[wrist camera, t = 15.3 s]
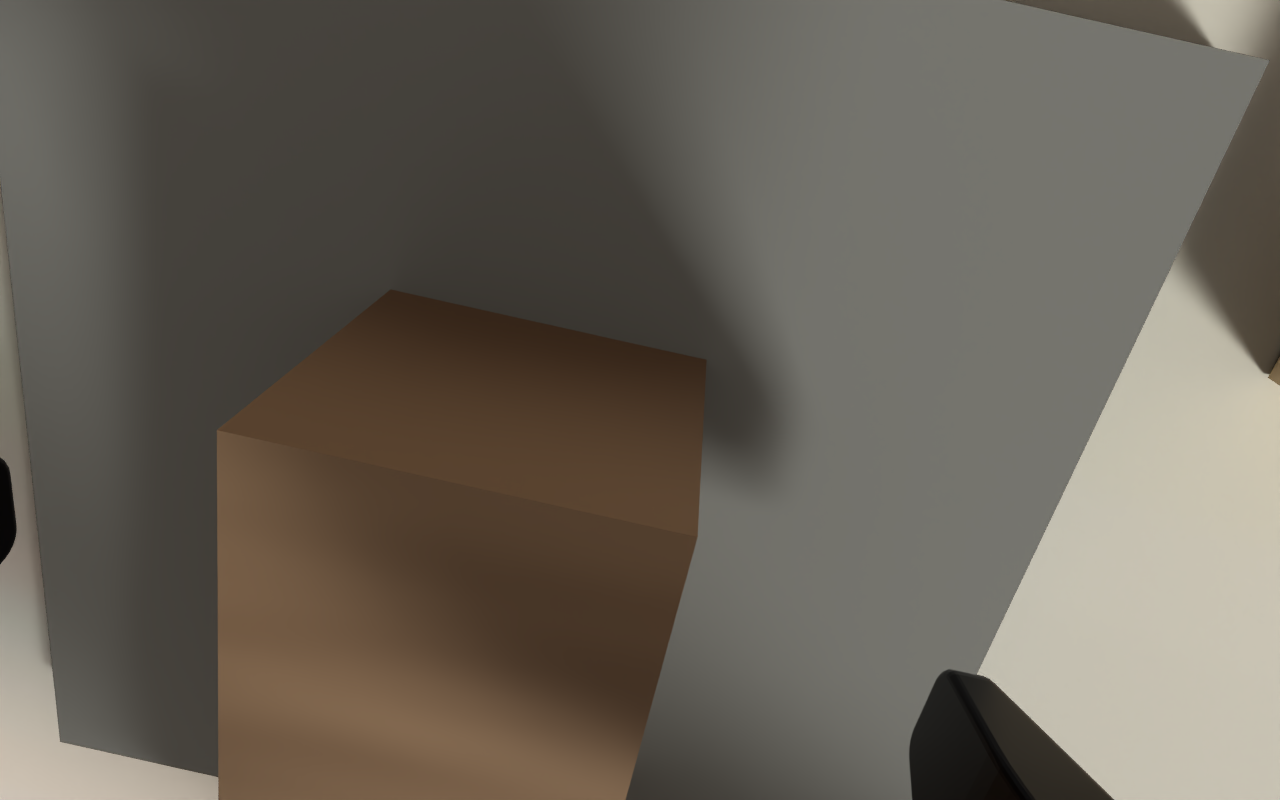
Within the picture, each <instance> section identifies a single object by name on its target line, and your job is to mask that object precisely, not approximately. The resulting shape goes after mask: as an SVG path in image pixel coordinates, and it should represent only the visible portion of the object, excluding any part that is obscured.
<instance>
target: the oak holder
mask: <svg viewBox="0 0 1280 800" xmlns="http://www.w3.org/2000/svg"><path fill="white" fill-rule="evenodd" d="M1268 378H1269V379H1271V380H1272V381H1274V382H1275V383H1277V384H1278V385H1280V357H1279V359H1278V361H1277V363H1276V364H1275V366H1274V368H1273V370H1272V372H1271V373H1270V375H1269V377H1268Z"/></svg>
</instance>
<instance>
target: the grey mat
mask: <svg viewBox="0 0 1280 800" xmlns="http://www.w3.org/2000/svg"><path fill="white" fill-rule="evenodd" d="M1269 61H1270V60H1266V59H1262V58H1258V57H1253V56H1249V55H1244V54H1240V53H1235V52H1231V51H1226V50H1222V49H1218V48H1213V47H1209V46H1204V45H1200V44H1195V43H1191V42H1187V41H1182V40H1178V39H1173V38H1169V37H1164V36H1160V35H1156V34H1151V33H1147V32H1142V31H1138V30H1133V29H1129V28H1124V27H1120V26H1116V25H1111V24H1107V23H1102V22H1098V21H1093V20H1089V19H1085V18H1080V17H1076V16H1071V15H1067V14H1062V13H1058V12H1054V11H1049V10H1045V9H1040V8H1036V7H1031V6H1027V5H1023V4H1018V3H1014V2H1009V1H1005V0H0V182H1V191H2V200H3V210H4V219H5V228H6V238H7V247H8V257H9V266H10V275H11V285H12V294H13V303H14V313H15V322H16V332H17V341H18V350H19V360H20V369H21V378H22V388H23V397H24V406H25V416H26V425H27V435H28V444H29V453H30V463H31V472H32V481H33V491H34V500H35V509H36V519H37V528H38V538H39V547H40V556H41V566H42V575H43V584H44V594H45V603H46V613H47V622H48V631H49V641H50V650H51V659H52V669H53V678H54V687H55V697H56V706H57V716H58V725H59V734H60V742H64V743H68V744H73V745H77V746H82V747H86V748H91V749H95V750H100V751H104V752H109V753H113V754H118V755H122V756H127V757H131V758H135V759H140V760H144V761H149V762H153V763H158V764H162V765H167V766H171V767H176V768H180V769H185V770H189V771H194V772H198V773H203V774H207V775H212V776H216V777H218V566H217V430H218V429H219V428H220V427H221V426H223V425H224V424H225V423H226V422H227V421H229V420H230V419H231V418H232V417H234V416H235V415H236V414H237V413H239V412H240V411H241V410H242V409H244V408H245V407H246V406H247V405H248V404H250V403H251V402H252V401H253V400H255V399H256V398H257V397H258V396H260V395H261V394H262V393H263V392H265V391H266V390H267V389H268V388H269V387H271V386H272V385H273V384H274V383H276V382H277V381H278V380H279V379H281V378H282V377H283V376H284V375H285V374H287V373H288V372H289V371H290V370H292V369H293V368H294V367H295V366H297V365H298V364H299V363H300V362H302V361H303V360H304V359H305V358H306V357H308V356H309V355H310V354H311V353H313V352H314V351H315V350H316V349H318V348H319V347H320V346H321V345H323V344H324V343H325V342H326V341H327V340H329V339H330V338H331V337H332V336H334V335H335V334H336V333H337V332H339V331H340V330H341V329H342V328H343V327H345V326H346V325H347V324H348V323H350V322H351V321H352V320H353V319H355V318H356V317H357V316H358V315H360V314H361V313H362V312H363V311H364V310H366V309H367V308H368V307H369V306H371V305H372V304H373V303H374V302H376V301H377V300H378V299H379V298H381V297H382V296H383V295H384V294H385V293H387V292H388V291H389V290H390V289H391V290H396V291H400V292H404V293H409V294H413V295H418V296H422V297H427V298H431V299H436V300H440V301H445V302H449V303H454V304H458V305H463V306H467V307H472V308H476V309H481V310H485V311H490V312H494V313H499V314H503V315H508V316H512V317H517V318H521V319H526V320H530V321H535V322H539V323H544V324H548V325H553V326H557V327H562V328H566V329H571V330H575V331H580V332H584V333H589V334H593V335H597V336H602V337H606V338H611V339H615V340H620V341H624V342H629V343H633V344H638V345H642V346H647V347H651V348H656V349H660V350H665V351H669V352H674V353H678V354H683V355H687V356H692V357H696V358H701V359H705V360H707V361H706V381H705V401H704V421H703V441H702V461H701V480H700V500H699V520H698V538H697V541H696V545H695V549H694V552H693V556H692V559H691V563H690V567H689V570H688V574H687V578H686V581H685V585H684V589H683V592H682V596H681V600H680V603H679V607H678V610H677V614H676V618H675V621H674V625H673V629H672V632H671V636H670V640H669V643H668V647H667V650H666V654H665V658H664V661H663V665H662V669H661V672H660V676H659V680H658V683H657V687H656V691H655V694H654V698H653V701H652V705H651V709H650V712H649V716H648V720H647V723H646V727H645V731H644V734H643V738H642V742H641V745H640V749H639V752H638V756H637V760H636V763H635V767H634V771H633V774H632V778H631V782H630V785H629V789H628V793H627V796H626V800H912V792H911V779H910V765H909V746H910V739H911V736H912V732H913V729H914V727H915V725H916V723H917V720H918V718H919V716H920V714H921V712H922V709H923V707H924V705H925V703H926V700H927V698H928V696H929V694H930V692H931V689H932V687H933V685H934V683H935V681H936V679H937V677H938V676H939V675H940V674H941V673H942V672H943V671H945V670H948V669H953V670H957V671H962V672H966V673H971V674H975V675H977V673H978V670H979V668H980V666H981V664H982V662H983V660H984V658H985V656H986V654H987V652H988V650H989V647H990V645H991V643H992V641H993V639H994V637H995V635H996V633H997V631H998V629H999V626H1000V624H1001V622H1002V620H1003V618H1004V616H1005V614H1006V612H1007V610H1008V608H1009V606H1010V603H1011V601H1012V599H1013V597H1014V595H1015V593H1016V591H1017V589H1018V587H1019V585H1020V583H1021V580H1022V578H1023V576H1024V574H1025V572H1026V570H1027V568H1028V566H1029V564H1030V562H1031V559H1032V557H1033V555H1034V553H1035V551H1036V549H1037V547H1038V545H1039V543H1040V541H1041V539H1042V536H1043V534H1044V532H1045V530H1046V528H1047V526H1048V524H1049V522H1050V520H1051V518H1052V515H1053V513H1054V511H1055V509H1056V507H1057V505H1058V503H1059V501H1060V499H1061V497H1062V495H1063V492H1064V490H1065V488H1066V486H1067V484H1068V482H1069V480H1070V478H1071V476H1072V474H1073V471H1074V469H1075V467H1076V465H1077V463H1078V461H1079V459H1080V457H1081V455H1082V453H1083V451H1084V448H1085V446H1086V444H1087V442H1088V440H1089V438H1090V436H1091V434H1092V432H1093V430H1094V427H1095V425H1096V423H1097V421H1098V419H1099V417H1100V415H1101V413H1102V411H1103V409H1104V407H1105V404H1106V402H1107V400H1108V398H1109V396H1110V394H1111V392H1112V390H1113V388H1114V386H1115V383H1116V381H1117V379H1118V377H1119V375H1120V373H1121V371H1122V369H1123V367H1124V365H1125V363H1126V360H1127V358H1128V356H1129V354H1130V352H1131V350H1132V348H1133V346H1134V344H1135V342H1136V339H1137V337H1138V335H1139V333H1140V331H1141V329H1142V327H1143V325H1144V323H1145V321H1146V319H1147V316H1148V314H1149V312H1150V310H1151V308H1152V306H1153V304H1154V302H1155V300H1156V298H1157V296H1158V293H1159V291H1160V289H1161V287H1162V285H1163V283H1164V281H1165V279H1166V277H1167V275H1168V272H1169V270H1170V268H1171V266H1172V264H1173V262H1174V260H1175V258H1176V256H1177V254H1178V252H1179V249H1180V247H1181V245H1182V243H1183V241H1184V239H1185V237H1186V235H1187V233H1188V231H1189V228H1190V226H1191V224H1192V222H1193V220H1194V218H1195V216H1196V214H1197V212H1198V210H1199V208H1200V205H1201V203H1202V201H1203V199H1204V197H1205V195H1206V193H1207V191H1208V189H1209V187H1210V184H1211V182H1212V180H1213V178H1214V176H1215V174H1216V172H1217V170H1218V168H1219V166H1220V164H1221V161H1222V159H1223V157H1224V155H1225V153H1226V151H1227V149H1228V147H1229V145H1230V143H1231V140H1232V138H1233V136H1234V134H1235V132H1236V130H1237V128H1238V126H1239V124H1240V122H1241V120H1242V117H1243V115H1244V113H1245V111H1246V109H1247V107H1248V105H1249V103H1250V101H1251V99H1252V96H1253V94H1254V92H1255V90H1256V88H1257V86H1258V84H1259V82H1260V80H1261V78H1262V76H1263V73H1264V71H1265V69H1266V67H1267V65H1268V63H1269Z"/></svg>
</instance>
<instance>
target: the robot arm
mask: <svg viewBox="0 0 1280 800" xmlns="http://www.w3.org/2000/svg"><path fill="white" fill-rule="evenodd" d="M16 531H17V530H16V518H15V510H14V501H13V493H12V484H11V476H10V470H9V467H8V466H7V464H6V462H5V461H4V460H3V459H1V458H0V564H1V563H2V562H3V560H4V559H5V558H6V557H7V555H8V554H9V552H10V550H11V548H12V546H13V544H14V541H15V537H16ZM909 765H910V779H911V792H912V800H1114V799H1113V798H1112V797H1111V796H1110V795H1109V794H1108V793H1107V792H1106V791H1105V790H1104V789H1103V788H1102V787H1101V786H1100V785H1098V784H1097V783H1096V782H1095V781H1094V780H1093V779H1092V778H1091V777H1090V776H1089V775H1088V774H1087V773H1086V772H1085V771H1084V770H1083V769H1082V768H1081V767H1080V766H1079V765H1078V764H1077V763H1076V762H1075V761H1074V760H1073V759H1072V758H1071V757H1070V756H1069V755H1068V754H1067V753H1066V752H1065V751H1064V750H1063V749H1062V748H1060V747H1059V746H1058V745H1057V744H1056V743H1055V742H1054V741H1053V740H1052V739H1051V738H1050V737H1049V736H1048V735H1047V734H1046V733H1045V732H1044V731H1043V730H1042V729H1041V728H1040V727H1039V726H1038V725H1037V724H1036V723H1035V722H1034V721H1033V720H1032V719H1031V718H1030V717H1029V716H1028V715H1027V714H1026V713H1025V712H1023V711H1022V710H1021V709H1020V708H1019V707H1018V706H1017V705H1016V704H1015V703H1014V702H1013V701H1012V700H1011V699H1010V698H1009V697H1008V696H1007V695H1006V694H1005V693H1004V692H1003V691H1002V690H1001V689H1000V688H999V687H998V686H997V685H996V684H995V683H994V682H992V681H991V680H990V679H988V678H986V677H984V676H980V675H975V674H971V673H966V672H962V671H957V670H953V669H948V670H945V671H943V672H942V673H941V674H940V675H939V676H938V677H937V679H936V681H935V683H934V685H933V687H932V689H931V692H930V694H929V696H928V698H927V700H926V703H925V705H924V707H923V709H922V712H921V714H920V716H919V718H918V720H917V723H916V725H915V727H914V729H913V732H912V736H911V739H910V746H909Z"/></svg>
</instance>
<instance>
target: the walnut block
mask: <svg viewBox="0 0 1280 800" xmlns="http://www.w3.org/2000/svg"><path fill="white" fill-rule="evenodd" d="M706 361H707V360H705V359H701V358H696V357H692V356H687V355H683V354H678V353H674V352H669V351H665V350H660V349H656V348H651V347H647V346H642V345H638V344H633V343H629V342H624V341H620V340H615V339H611V338H606V337H602V336H597V335H593V334H589V333H584V332H580V331H575V330H571V329H566V328H562V327H557V326H553V325H548V324H544V323H539V322H535V321H530V320H526V319H521V318H517V317H512V316H508V315H503V314H499V313H494V312H490V311H485V310H481V309H476V308H472V307H467V306H463V305H458V304H454V303H449V302H445V301H440V300H436V299H431V298H427V297H422V296H418V295H413V294H409V293H404V292H400V291H396V290H391V289H390V290H389V291H388V292H387V293H385V294H384V295H383V296H382V297H381V298H379V299H378V300H377V301H376V302H374V303H373V304H372V305H371V306H369V307H368V308H367V309H366V310H364V311H363V312H362V313H361V314H360V315H358V316H357V317H356V318H355V319H353V320H352V321H351V322H350V323H348V324H347V325H346V326H345V327H343V328H342V329H341V330H340V331H339V332H337V333H336V334H335V335H334V336H332V337H331V338H330V339H329V340H327V341H326V342H325V343H324V344H323V345H321V346H320V347H319V348H318V349H316V350H315V351H314V352H313V353H311V354H310V355H309V356H308V357H306V358H305V359H304V360H303V361H302V362H300V363H299V364H298V365H297V366H295V367H294V368H293V369H292V370H290V371H289V372H288V373H287V374H285V375H284V376H283V377H282V378H281V379H279V380H278V381H277V382H276V383H274V384H273V385H272V386H271V387H269V388H268V389H267V390H266V391H265V392H263V393H262V394H261V395H260V396H258V397H257V398H256V399H255V400H253V401H252V402H251V403H250V404H248V405H247V406H246V407H245V408H244V409H242V410H241V411H240V412H239V413H237V414H236V415H235V416H234V417H232V418H231V419H230V420H229V421H227V422H226V423H225V424H224V425H223V426H221V427H220V428H219V429H218V430H217V566H218V777H219V800H626V796H627V793H628V789H629V785H630V782H631V778H632V774H633V771H634V767H635V763H636V760H637V756H638V752H639V749H640V745H641V742H642V738H643V734H644V731H645V727H646V723H647V720H648V716H649V712H650V709H651V705H652V701H653V698H654V694H655V691H656V687H657V683H658V680H659V676H660V672H661V669H662V665H663V661H664V658H665V654H666V650H667V647H668V643H669V640H670V636H671V632H672V629H673V625H674V621H675V618H676V614H677V610H678V607H679V603H680V600H681V596H682V592H683V589H684V585H685V581H686V578H687V574H688V570H689V567H690V563H691V559H692V556H693V552H694V549H695V545H696V541H697V538H698V520H699V500H700V480H701V461H702V441H703V421H704V401H705V381H706Z"/></svg>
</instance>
